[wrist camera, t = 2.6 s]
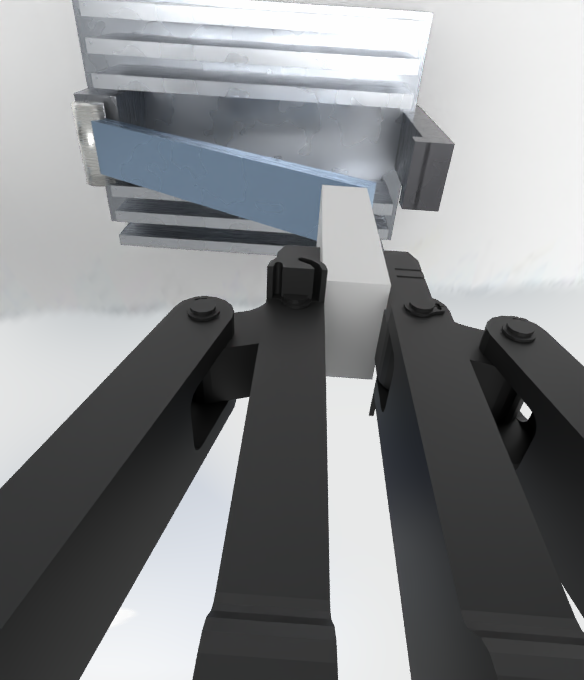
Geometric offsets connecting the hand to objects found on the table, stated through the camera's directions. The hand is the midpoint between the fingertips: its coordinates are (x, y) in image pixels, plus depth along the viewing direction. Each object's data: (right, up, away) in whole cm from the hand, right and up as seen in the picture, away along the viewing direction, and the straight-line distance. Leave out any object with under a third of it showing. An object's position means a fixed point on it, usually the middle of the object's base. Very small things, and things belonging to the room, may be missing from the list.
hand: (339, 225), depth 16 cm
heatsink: (-4, +9, +12) cm, 16 cm away
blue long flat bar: (-5, +3, +4) cm, 7 cm away
